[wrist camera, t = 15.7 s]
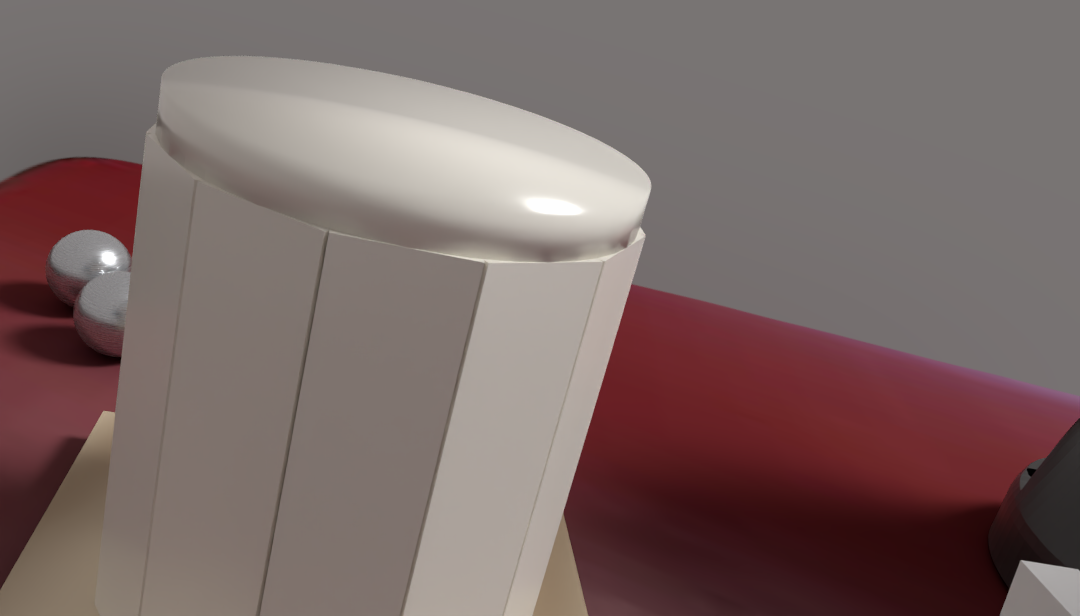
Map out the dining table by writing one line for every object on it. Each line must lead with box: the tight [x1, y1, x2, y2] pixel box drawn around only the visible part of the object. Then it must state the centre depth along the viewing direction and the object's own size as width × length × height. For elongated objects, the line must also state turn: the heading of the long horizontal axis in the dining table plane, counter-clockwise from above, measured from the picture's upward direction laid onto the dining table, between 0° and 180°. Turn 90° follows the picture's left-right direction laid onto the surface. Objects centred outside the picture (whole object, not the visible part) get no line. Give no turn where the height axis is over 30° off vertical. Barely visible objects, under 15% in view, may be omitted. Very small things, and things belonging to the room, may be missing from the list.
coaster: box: [0, 411, 588, 616], centre depth 26 cm, size 14×14×1 cm
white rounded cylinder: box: [95, 56, 651, 616], centre depth 23 cm, size 10×10×12 cm
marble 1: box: [46, 230, 132, 308], centre depth 38 cm, size 3×3×3 cm
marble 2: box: [73, 271, 131, 357], centre depth 35 cm, size 3×3×3 cm
